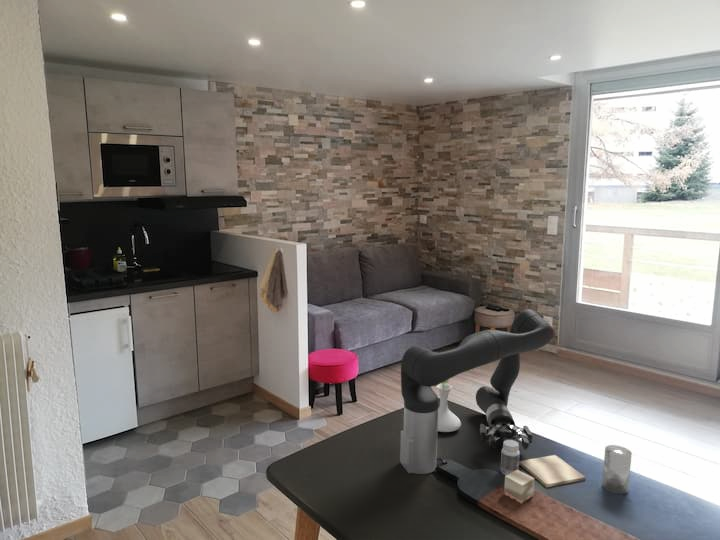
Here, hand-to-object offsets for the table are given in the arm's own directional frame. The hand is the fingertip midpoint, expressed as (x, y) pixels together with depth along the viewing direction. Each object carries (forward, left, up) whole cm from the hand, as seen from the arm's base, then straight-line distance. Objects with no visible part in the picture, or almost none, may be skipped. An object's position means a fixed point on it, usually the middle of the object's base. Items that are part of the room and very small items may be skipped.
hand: (509, 445), depth 141 cm
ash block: (-6, -13, -6) cm, 16 cm away
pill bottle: (-2, -3, -6) cm, 7 cm away
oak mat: (+9, -6, -6) cm, 12 cm away
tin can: (+20, -17, -6) cm, 27 cm away
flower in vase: (-8, +26, -6) cm, 27 cm away
